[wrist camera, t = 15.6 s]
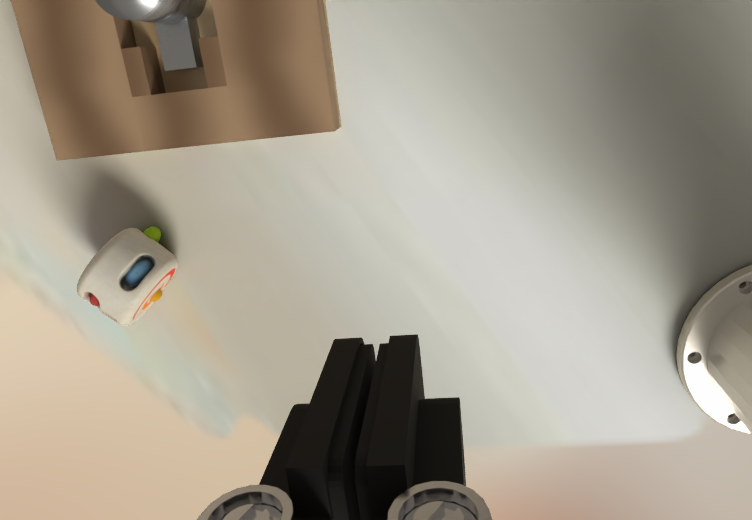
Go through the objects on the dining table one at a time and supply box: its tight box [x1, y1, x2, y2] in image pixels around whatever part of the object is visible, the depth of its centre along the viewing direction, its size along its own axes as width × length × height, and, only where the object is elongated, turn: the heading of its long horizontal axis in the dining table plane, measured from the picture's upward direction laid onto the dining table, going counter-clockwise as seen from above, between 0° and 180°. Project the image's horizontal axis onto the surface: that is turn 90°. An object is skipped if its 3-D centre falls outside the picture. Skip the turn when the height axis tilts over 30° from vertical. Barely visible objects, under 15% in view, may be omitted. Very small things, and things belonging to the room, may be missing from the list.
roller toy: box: [77, 227, 178, 326], centre depth 39 cm, size 4×6×6 cm
